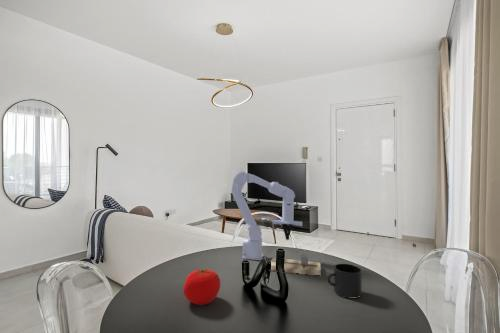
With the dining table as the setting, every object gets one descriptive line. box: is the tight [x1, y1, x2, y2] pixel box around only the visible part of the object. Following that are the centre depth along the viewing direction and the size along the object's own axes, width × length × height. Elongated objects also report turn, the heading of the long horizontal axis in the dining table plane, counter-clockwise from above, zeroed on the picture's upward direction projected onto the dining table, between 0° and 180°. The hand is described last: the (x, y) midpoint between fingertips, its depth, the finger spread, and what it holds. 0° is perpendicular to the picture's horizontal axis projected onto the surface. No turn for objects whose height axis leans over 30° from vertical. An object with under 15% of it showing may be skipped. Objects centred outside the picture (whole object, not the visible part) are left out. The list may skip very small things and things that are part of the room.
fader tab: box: [300, 253, 309, 266], centre depth 117 cm, size 3×4×4 cm
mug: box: [327, 263, 363, 297], centre depth 96 cm, size 9×12×9 cm
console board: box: [270, 257, 322, 277], centre depth 118 cm, size 22×10×2 cm, turn 76°
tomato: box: [183, 268, 221, 306], centre depth 88 cm, size 11×12×10 cm
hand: (287, 239), depth 133 cm, fingers closed
